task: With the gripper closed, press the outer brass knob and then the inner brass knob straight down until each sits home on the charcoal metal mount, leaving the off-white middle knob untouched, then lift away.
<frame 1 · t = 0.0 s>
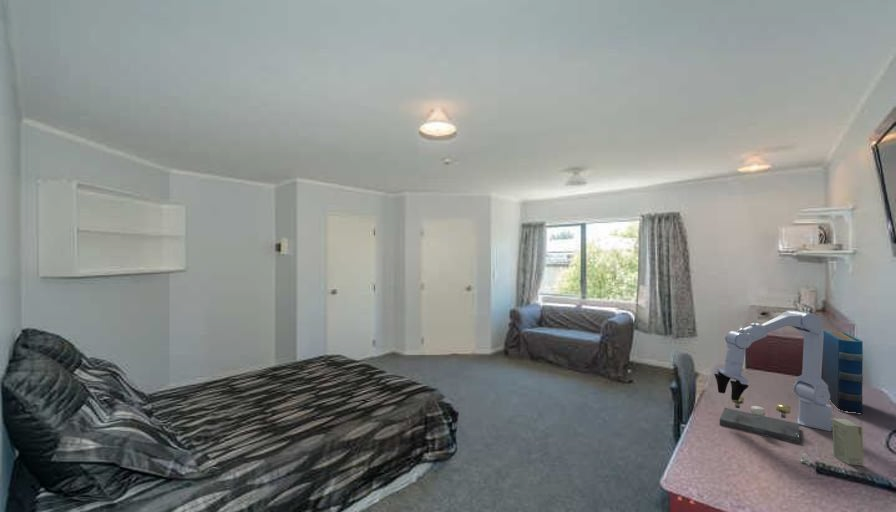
hand: (727, 396, 152), 11 cm above the table, tool pointing down, fingers open, 7 cm apart
book: (844, 405, 170), on the table
skincare box: (847, 460, 125), on the table
adhesive hook: (810, 467, 122), on the table
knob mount: (758, 426, 149), on the table
middle white knob: (757, 413, 146), point 6 cm above the table, slide at 0.0 cm
inner brass knob: (783, 411, 148), point 6 cm above the table, slide at 0.0 cm
outer brass knob: (737, 402, 157), point 6 cm above the table, slide at 0.0 cm
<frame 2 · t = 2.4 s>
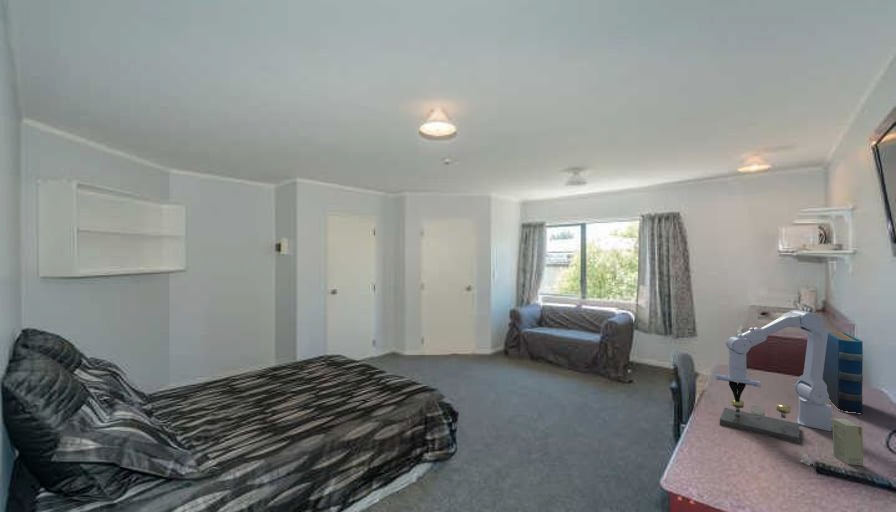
hand: (737, 400, 157), 7 cm above the table, tool pointing down, fingers closed, pressing on outer brass knob
outer brass knob: (737, 406, 157), point 5 cm above the table, slide at 1.6 cm, touching gripper
everything else where it was.
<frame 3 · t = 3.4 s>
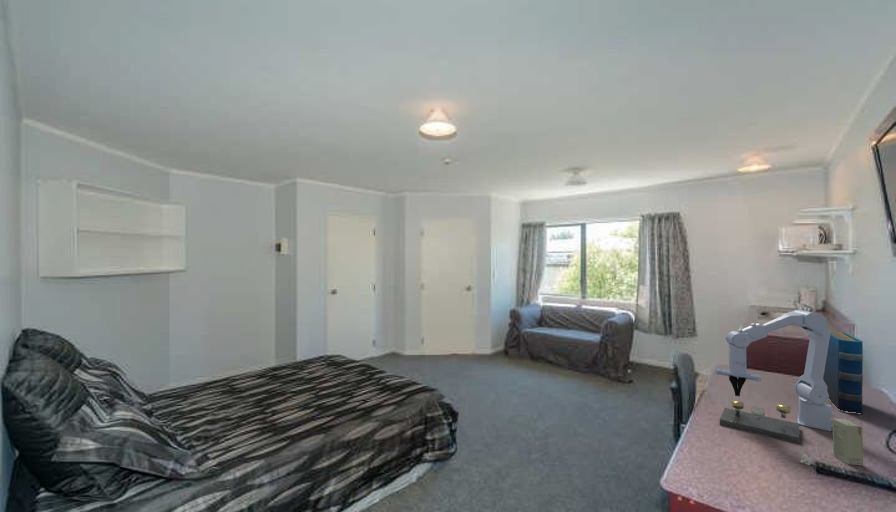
hand: (737, 395, 157), 9 cm above the table, tool pointing down, fingers closed
outer brass knob: (737, 407, 157), point 4 cm above the table, slide at 2.1 cm
everything else where it was.
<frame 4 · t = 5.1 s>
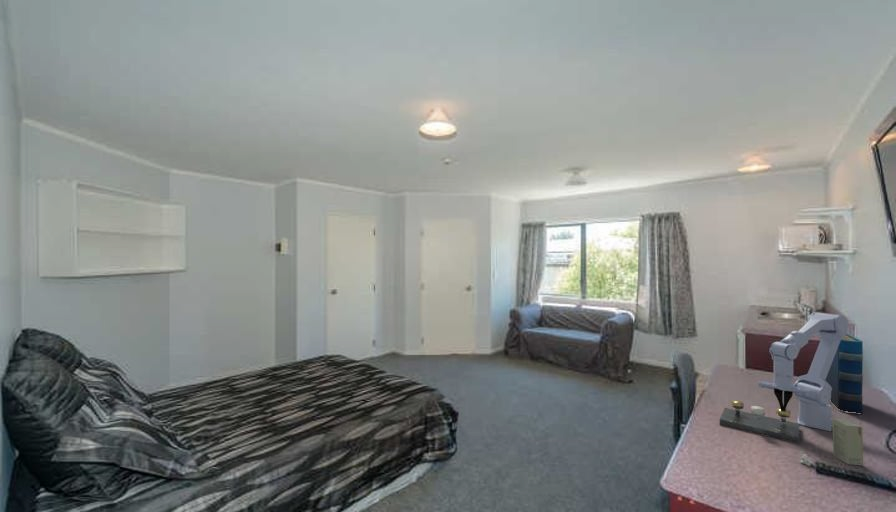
hand: (783, 410, 148), 7 cm above the table, tool pointing down, fingers closed, pressing on inner brass knob
inner brass knob: (783, 415, 148), point 5 cm above the table, slide at 1.6 cm, touching gripper
everything else where it was.
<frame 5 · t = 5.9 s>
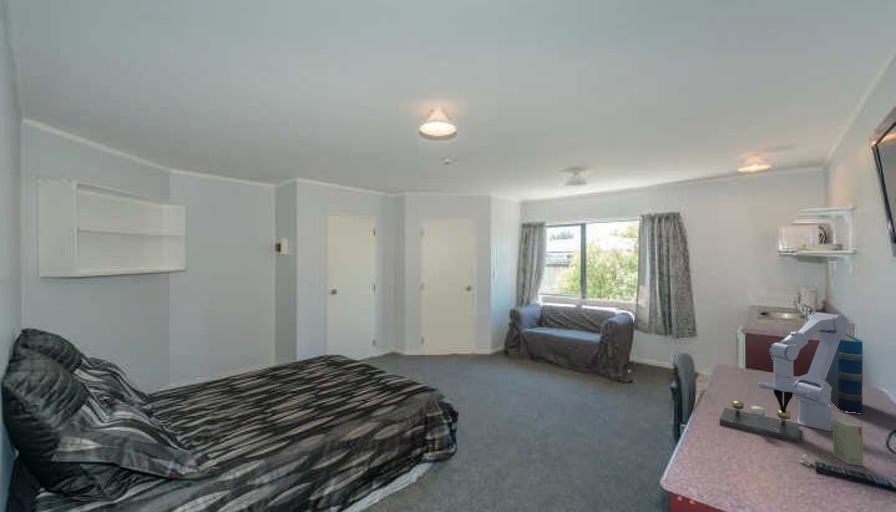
hand: (783, 410, 148), 7 cm above the table, tool pointing down, fingers closed
inner brass knob: (783, 417, 148), point 4 cm above the table, slide at 2.1 cm
everything else where it was.
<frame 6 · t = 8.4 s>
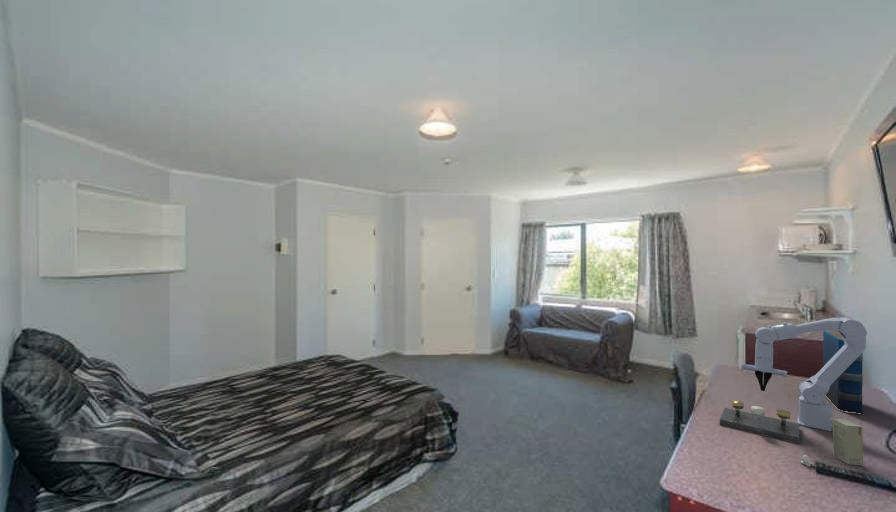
hand: (762, 390, 159), 10 cm above the table, tool pointing down, fingers closed
at the end: outer brass knob slide at 2.1 cm; inner brass knob slide at 2.1 cm; middle white knob slide at 0.0 cm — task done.
